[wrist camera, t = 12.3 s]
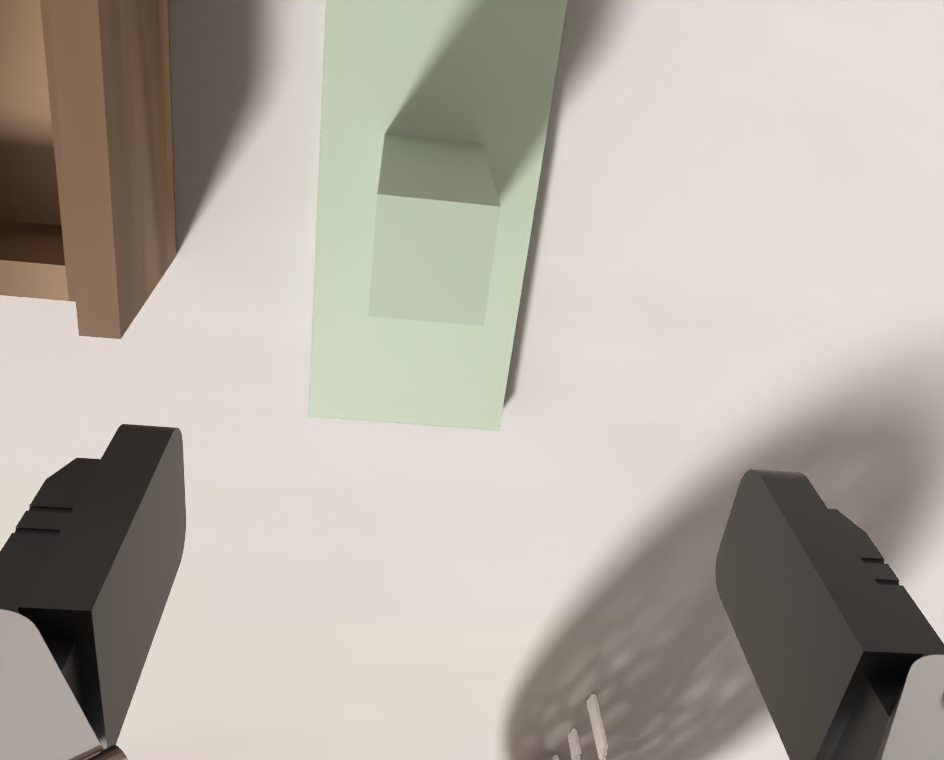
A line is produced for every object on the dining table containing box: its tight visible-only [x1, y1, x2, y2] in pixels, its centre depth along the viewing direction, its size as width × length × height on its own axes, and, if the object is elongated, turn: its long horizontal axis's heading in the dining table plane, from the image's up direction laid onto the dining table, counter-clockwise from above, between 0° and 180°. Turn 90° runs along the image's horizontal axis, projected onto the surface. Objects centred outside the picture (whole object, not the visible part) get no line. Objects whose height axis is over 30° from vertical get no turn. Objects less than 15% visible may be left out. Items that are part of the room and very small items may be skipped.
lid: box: [308, 0, 568, 431], centre depth 24 cm, size 6×16×7 cm, turn 173°
